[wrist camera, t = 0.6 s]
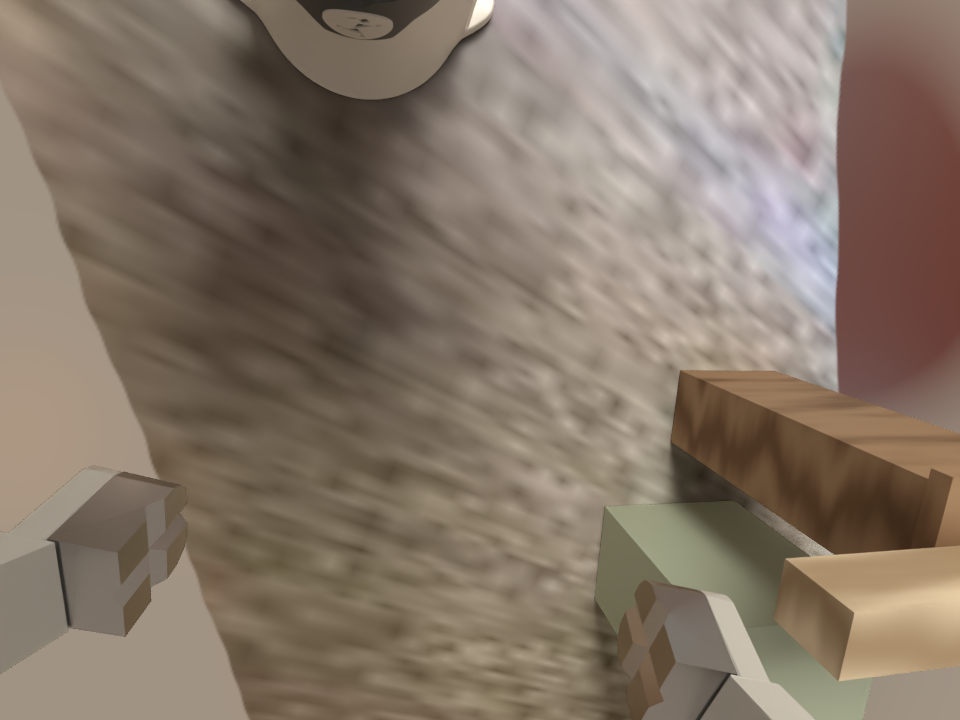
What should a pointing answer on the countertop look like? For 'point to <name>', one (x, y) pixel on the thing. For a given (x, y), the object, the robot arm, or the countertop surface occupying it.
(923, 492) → the walnut stand
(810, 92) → the countertop surface
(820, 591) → the beech bar
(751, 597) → the sage box
